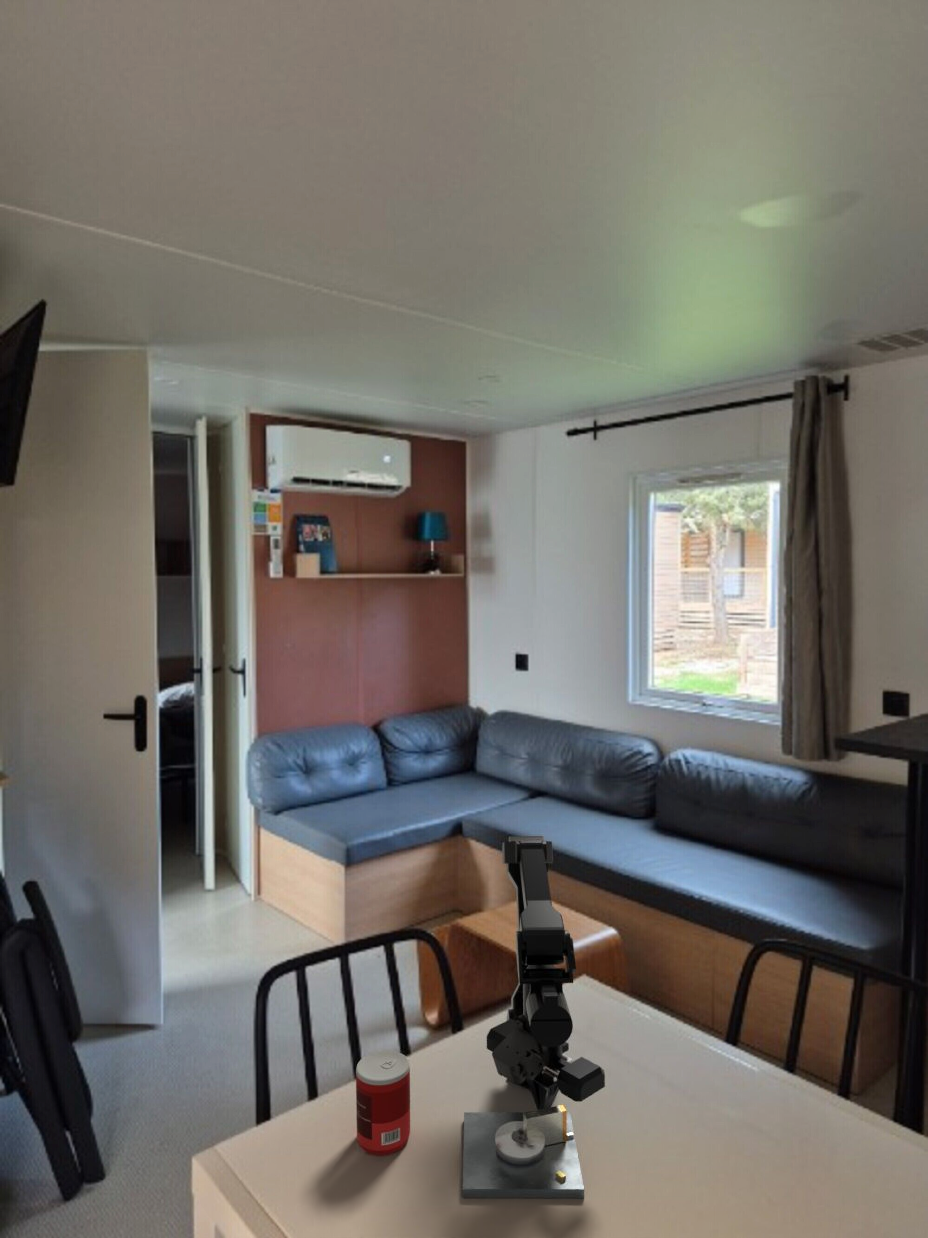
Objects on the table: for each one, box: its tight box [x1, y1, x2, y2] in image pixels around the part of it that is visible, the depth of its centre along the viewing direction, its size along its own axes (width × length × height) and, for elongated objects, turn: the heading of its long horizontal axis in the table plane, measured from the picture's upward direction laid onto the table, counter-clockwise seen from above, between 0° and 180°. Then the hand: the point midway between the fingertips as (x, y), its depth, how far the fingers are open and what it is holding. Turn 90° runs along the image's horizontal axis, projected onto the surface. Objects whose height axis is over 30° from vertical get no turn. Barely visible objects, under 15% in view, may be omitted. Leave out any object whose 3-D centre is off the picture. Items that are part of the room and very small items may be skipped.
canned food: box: [355, 1050, 411, 1156], centre depth 120 cm, size 8×8×11 cm
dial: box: [495, 1104, 567, 1165], centre depth 116 cm, size 10×7×4 cm
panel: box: [462, 1111, 585, 1199], centre depth 116 cm, size 16×16×2 cm
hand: (543, 1115), depth 119 cm, fingers closed
